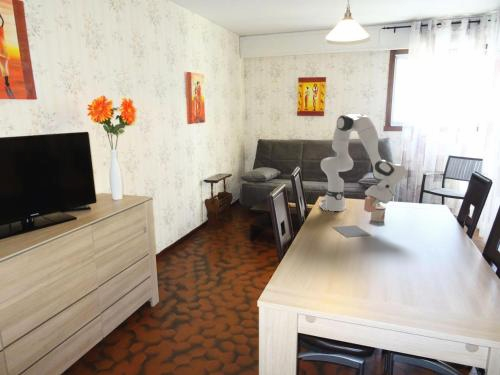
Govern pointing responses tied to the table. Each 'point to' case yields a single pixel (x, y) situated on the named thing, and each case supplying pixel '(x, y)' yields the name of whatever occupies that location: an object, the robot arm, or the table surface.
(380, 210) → the teacup with lid
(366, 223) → the table surface
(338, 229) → the charcoal mat
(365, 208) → the terracotta block
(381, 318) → the table surface
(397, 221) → the table surface
